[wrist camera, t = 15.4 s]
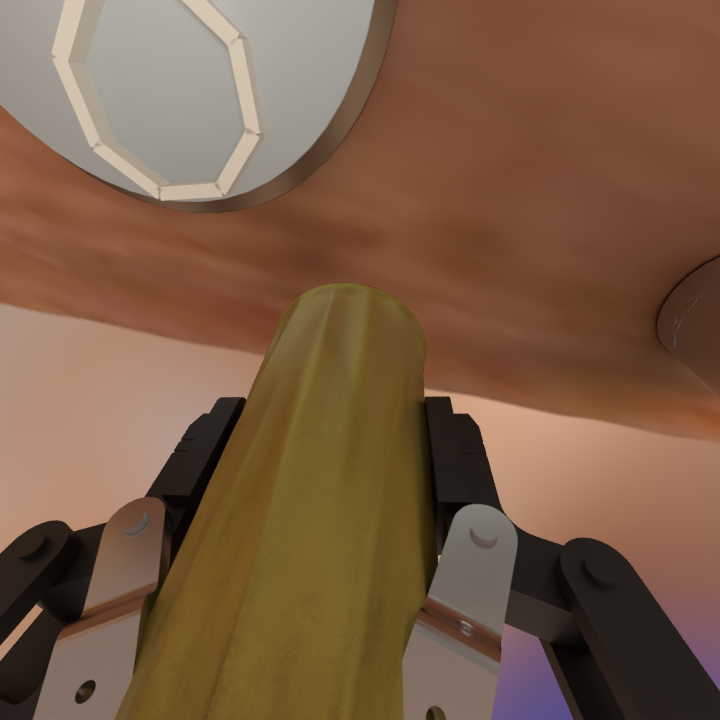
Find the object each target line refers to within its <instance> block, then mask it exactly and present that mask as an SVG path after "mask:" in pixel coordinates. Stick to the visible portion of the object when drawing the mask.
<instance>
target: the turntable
mask: <svg viewBox="0 0 720 720" xmlns="http://www.w3.org/2000/svg"><path fill="white" fill-rule="evenodd" d="M375 2H376V0H0V105H1V106H2V107H3V108H4V109H6V110H7V111H8V112H9V113H10V114H11V115H12V116H13V117H14V118H15V119H16V120H17V121H18V122H19V123H20V124H22V125H23V126H24V127H25V128H26V129H27V130H29V131H30V132H31V133H32V134H34V135H35V136H36V137H37V138H39V139H40V140H41V141H42V142H44V143H45V144H46V145H47V146H49V147H50V148H51V149H53V150H54V151H56V152H57V153H59V154H60V155H62V156H63V157H65V158H66V159H68V160H69V161H71V162H72V163H74V164H75V165H77V166H78V167H80V168H82V169H84V170H86V171H88V172H89V173H91V174H93V175H95V176H97V177H99V178H101V179H103V180H104V181H107V182H109V183H112V184H114V185H117V186H119V187H122V188H124V189H126V190H129V191H132V192H136V193H139V194H143V195H146V196H150V197H153V198H156V199H161V201H165V200H172V201H179V202H205V201H212V200H219V199H226V198H229V197H233V196H236V195H239V194H242V193H246V192H249V191H251V190H253V189H255V188H257V187H259V186H261V185H263V184H265V183H267V182H269V181H271V180H272V179H274V178H275V177H277V176H278V175H280V174H281V173H282V172H284V171H285V170H287V169H288V168H290V167H291V166H292V165H294V164H295V163H296V162H297V161H298V160H299V159H300V158H301V157H302V156H303V155H304V154H306V153H307V152H308V151H309V150H310V149H311V148H312V147H313V146H314V144H315V143H316V142H317V141H318V139H319V138H320V137H321V135H322V134H323V133H324V132H325V130H326V129H327V128H328V127H329V125H330V124H331V122H332V120H333V119H334V117H335V115H336V113H337V112H338V110H339V108H340V107H341V105H342V103H343V102H344V100H345V98H346V95H347V93H348V91H349V89H350V86H351V84H352V82H353V80H354V77H355V75H356V73H357V71H358V67H359V64H360V61H361V58H362V55H363V52H364V48H365V45H366V42H367V39H368V36H369V31H370V26H371V21H372V16H373V12H374V7H375Z"/></svg>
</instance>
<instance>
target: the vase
mask: <svg viewBox="0 0 720 720" xmlns="http://www.w3.org/2000/svg"><path fill="white" fill-rule="evenodd" d="M425 354H426V342H425V337H424V334H423V331H422V328H421V326H420V324H419V322H418V320H417V319H416V317H415V316H414V314H413V313H412V312H411V311H410V310H409V309H408V308H407V307H406V306H405V305H404V304H403V303H402V302H400V301H399V300H398V299H397V298H395V297H394V296H392V295H390V294H389V293H387V292H385V291H383V290H380V289H378V288H375V287H371V286H368V285H363V284H357V283H347V282H338V283H330V284H326V285H322V286H319V287H316V288H313V289H311V290H309V291H307V292H305V293H303V294H302V295H300V296H299V297H297V298H296V299H295V300H294V301H293V302H292V303H291V304H290V305H289V306H288V307H287V308H286V309H285V310H284V312H283V313H282V314H281V316H280V318H279V319H278V321H277V324H276V328H275V334H274V337H273V339H272V341H271V343H270V346H269V348H268V351H267V353H266V355H265V358H264V360H263V363H262V365H261V367H260V369H259V371H258V374H257V376H256V378H255V380H254V383H253V385H252V388H251V391H250V393H249V395H248V398H247V400H246V403H245V406H244V408H243V411H242V414H241V416H240V418H239V420H238V422H237V424H236V426H235V428H234V430H233V432H232V434H231V436H230V438H229V441H228V443H227V445H226V447H225V449H224V451H223V454H222V456H221V458H220V460H219V462H218V465H217V467H216V469H215V471H214V473H213V475H212V477H211V479H210V481H209V484H208V486H207V488H206V491H205V493H204V495H203V498H202V500H201V502H200V505H199V507H198V510H197V512H196V514H195V517H194V519H193V521H192V523H191V525H190V527H189V530H188V532H187V534H186V536H185V538H184V540H183V542H182V545H181V547H180V549H179V551H178V553H177V555H176V558H175V560H174V562H173V564H172V566H171V569H170V571H169V573H168V575H167V578H166V580H165V582H164V584H163V587H162V589H161V591H160V593H159V596H158V598H157V600H156V602H155V604H154V607H153V609H152V611H151V613H150V615H149V617H148V621H147V625H146V629H145V632H144V636H143V639H142V643H141V647H140V651H139V654H138V658H137V662H136V666H135V670H134V674H133V678H132V680H131V682H130V685H129V687H128V689H127V691H126V694H125V696H124V698H123V701H122V703H121V705H120V707H119V710H118V712H117V714H116V716H115V719H114V720H404V715H403V673H402V659H403V656H404V653H405V650H406V647H407V644H408V641H409V638H410V635H411V633H412V630H413V627H414V624H415V621H416V619H417V616H418V614H419V611H420V609H421V607H422V606H423V607H426V599H427V596H428V593H429V590H430V587H431V584H432V581H433V578H434V575H435V572H436V569H437V566H438V553H437V537H436V523H435V508H434V495H433V482H432V471H431V460H430V450H429V440H428V431H427V422H426V413H425V403H424V402H425V398H424V379H423V371H424V363H425ZM426 720H439V719H438V718H437V717H435V715H434V713H433V712H429V713H428V714H427V715H426Z"/></svg>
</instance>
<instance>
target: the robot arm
mask: <svg viewBox="0 0 720 720" xmlns="http://www.w3.org/2000/svg"><path fill="white" fill-rule="evenodd" d="M657 333H658V337H659V340H660V342H661V343H662V344H663V346H664V347H665V348H666V349H667V350H668V351H670V352H671V353H672V354H673V355H674V356H675V357H677V358H678V359H679V360H680V361H681V362H682V363H683V364H685V365H686V366H687V367H688V368H689V369H690V370H692V371H693V372H694V373H695V374H696V375H697V376H698V377H699V378H700V379H701V380H703V381H704V382H705V383H706V384H707V385H708V386H710V387H711V388H712V389H713V390H714V391H715V392H717V393H718V394H719V395H720V257H718V258H716V259H714V260H712V261H710V262H709V263H707V264H705V265H703V266H702V267H700V268H699V269H698V270H696V271H695V272H693V273H692V274H690V275H689V276H688V277H687V278H686V279H685V280H684V281H683V282H681V283H680V284H679V285H678V286H677V287H676V289H675V290H674V291H673V292H672V293H671V295H670V296H669V297H668V299H667V300H666V302H665V304H664V305H663V307H662V309H661V311H660V314H659V317H658V321H657ZM245 403H246V399H245V398H244V397H221V398H219V399H218V400H217V402H216V403H215V405H214V407H213V408H212V410H211V412H210V413H209V414H203V415H201V416H200V417H199V418H198V419H197V420H196V421H194V422H193V423H192V424H191V425H190V426H189V427H188V429H187V431H186V433H185V434H184V435H183V437H182V439H181V442H179V443H178V445H177V446H176V448H175V450H174V453H172V454H171V456H170V458H169V459H168V461H167V462H166V464H165V466H164V467H163V469H162V470H161V472H160V473H159V475H158V477H157V478H156V480H155V481H154V483H153V484H152V486H151V488H150V489H149V491H148V492H147V494H146V495H145V497H144V498H140V499H136V500H134V501H132V502H130V503H128V504H126V505H125V506H123V507H122V508H120V509H119V510H118V511H117V512H116V513H115V514H114V515H113V516H112V517H111V518H110V520H109V521H108V522H107V523H103V524H99V525H96V526H92V527H89V528H85V529H81V530H77V531H73V530H72V529H71V528H70V527H69V526H68V525H67V524H66V523H64V522H62V521H57V520H56V521H48V522H45V523H41V524H39V525H37V526H34V527H33V528H31V529H29V530H27V531H26V532H25V533H23V534H22V535H20V536H19V537H18V538H16V539H15V540H14V541H13V542H12V543H11V544H10V545H9V546H8V547H7V548H6V549H5V550H4V551H3V552H2V553H1V554H0V645H1V644H2V643H3V642H4V641H5V640H6V638H7V637H8V636H9V635H10V634H11V633H12V631H13V630H14V629H15V628H16V627H17V626H18V624H19V623H20V622H21V621H22V620H23V619H24V617H25V616H26V615H27V614H28V613H29V612H30V611H31V609H32V608H33V607H34V606H35V605H36V604H37V605H38V606H39V607H41V608H42V609H43V611H42V612H41V613H40V614H39V616H38V617H37V618H36V619H35V620H34V622H33V623H32V624H31V625H30V626H29V627H28V629H27V630H26V631H25V632H24V633H23V635H22V636H21V637H20V638H19V639H18V641H17V642H16V643H15V644H14V645H13V647H12V648H11V649H10V650H9V651H8V653H7V654H6V655H5V656H4V657H3V658H2V660H1V661H0V720H114V719H115V716H116V714H117V712H118V710H119V707H120V705H121V703H122V701H123V698H124V696H125V694H126V691H127V689H128V687H129V685H130V682H131V680H132V678H133V674H134V670H135V666H136V662H137V658H138V654H139V651H140V647H141V643H142V639H143V636H144V632H145V629H146V625H147V621H148V617H149V615H150V613H151V611H152V609H153V607H154V604H155V602H156V600H157V598H158V596H159V593H160V591H161V589H162V587H163V584H164V582H165V580H166V578H167V575H168V573H169V571H170V569H171V566H172V564H173V562H174V560H175V558H176V555H177V553H178V551H179V549H180V547H181V545H182V542H183V540H184V538H185V536H186V534H187V532H188V530H189V527H190V525H191V523H192V521H193V519H194V517H195V514H196V512H197V510H198V507H199V505H200V502H201V500H202V498H203V495H204V493H205V491H206V488H207V486H208V484H209V481H210V479H211V477H212V475H213V473H214V471H215V469H216V467H217V465H218V462H219V460H220V458H221V456H222V454H223V451H224V449H225V447H226V445H227V443H228V441H229V438H230V436H231V434H232V432H233V430H234V428H235V426H236V424H237V422H238V420H239V418H240V416H241V414H242V411H243V408H244V406H245ZM424 403H425V413H426V422H427V431H428V440H429V450H430V460H431V471H432V482H433V495H434V508H435V523H436V537H437V553H438V555H441V557H440V561H439V563H438V566H437V569H436V572H435V575H434V578H433V581H432V584H431V587H430V590H429V593H428V596H427V599H426V607H423V606H422V607H421V609H420V611H419V614H418V616H417V619H416V621H415V624H414V627H413V630H412V633H411V635H410V638H409V641H408V644H407V647H406V650H405V653H404V656H403V659H402V673H403V715H404V720H426V715H427V714H428V713H429V712H433V713H434V715H435V717H437V718H438V719H439V720H491V715H492V709H493V704H494V697H495V692H496V686H497V680H498V673H499V667H500V660H501V639H502V632H503V626H504V623H506V624H508V625H511V626H513V627H515V628H518V629H520V630H522V631H525V632H527V633H529V634H532V635H534V636H537V637H539V640H540V642H541V644H542V647H543V649H544V651H545V654H546V656H547V658H548V661H549V663H550V665H551V668H552V670H553V672H554V675H555V677H556V679H557V682H558V684H559V687H560V689H561V691H562V694H563V696H564V698H565V701H566V703H567V705H568V707H569V710H570V712H571V715H572V717H573V719H574V720H720V691H719V690H718V688H717V687H716V685H715V684H714V682H713V681H712V680H711V678H710V677H709V676H708V674H707V672H706V671H705V670H704V668H703V667H702V665H701V664H700V662H699V661H698V659H697V658H696V657H695V655H694V654H693V653H692V651H691V649H690V648H689V647H688V645H687V644H686V642H685V641H684V640H683V638H682V637H681V635H680V634H679V633H678V631H677V630H676V628H675V627H674V625H673V624H672V622H671V621H670V620H669V618H668V617H667V615H666V614H665V613H664V611H663V610H662V608H661V607H660V605H659V604H658V602H657V601H656V600H655V598H654V597H653V595H652V594H651V593H650V591H649V590H648V588H647V587H646V585H645V584H644V583H643V581H642V580H641V578H640V577H639V575H638V574H637V573H636V571H635V570H634V568H633V567H632V566H631V564H630V563H629V562H628V561H627V560H626V559H625V558H624V557H623V556H622V555H621V554H620V553H619V552H618V551H616V550H615V549H613V548H612V547H611V546H609V545H607V544H605V543H603V542H601V541H598V540H595V539H591V538H576V539H573V540H570V541H568V542H567V543H566V544H565V545H564V546H563V545H560V544H557V543H554V542H551V541H548V540H545V539H542V538H539V537H536V536H534V535H531V534H529V533H527V532H525V531H523V530H522V529H520V528H519V527H517V526H516V525H515V524H514V523H513V522H512V521H511V520H510V519H509V518H508V517H507V516H506V514H505V513H504V511H503V509H502V507H501V504H500V501H499V498H498V494H497V490H496V487H495V483H494V480H493V476H492V472H491V469H490V465H489V461H488V458H487V456H486V450H485V447H484V444H483V440H482V436H481V432H480V429H479V426H478V425H477V424H476V423H475V421H474V420H473V419H472V418H471V416H470V415H469V414H453V409H452V404H451V400H450V397H425V402H424Z"/></svg>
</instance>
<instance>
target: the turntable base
mask: <svg viewBox="0 0 720 720" xmlns="http://www.w3.org/2000/svg"><path fill="white" fill-rule="evenodd" d="M397 1H398V0H376V2H375V7H374V12H373V16H372V21H371V26H370V31H369V36H368V39H367V42H366V45H365V48H364V52H363V55H362V58H361V61H360V64H359V67H358V71H357V73H356V75H355V77H354V80H353V82H352V84H351V86H350V89H349V91H348V93H347V95H346V98H345V100H344V102H343V103H342V105H341V107H340V108H339V110H338V112H337V113H336V115H335V117H334V119H333V120H332V122H331V124H330V125H329V127H328V128H327V129H326V130H325V132H324V133H323V134H322V135H321V137H320V138H319V139H318V141H317V142H316V143H315V144H314V146H313V147H312V148H311V149H310V150H309V151H308V152H307V153H306V154H304V155H303V156H302V157H301V158H300V159H299V160H298V161H297V162H296V163H295V164H294V165H292V166H291V167H290V168H288V169H287V170H285V171H284V172H282V173H281V174H280V175H278V176H277V177H275V178H274V179H272V180H271V181H269V182H267V183H265V184H263V185H261V186H259V187H257V188H255V189H253V190H251V191H249V192H246V193H242V194H239V195H236V196H233V197H229V198H226V199H219V200H212V201H205V202H179V201H172V200H165V201H161V199H156V198H153V197H150V196H146V195H143V194H139V193H136V192H132V191H129V190H126V189H124V188H122V187H119V186H117V185H114V184H112V183H109V182H107V181H104V180H103V179H101V178H99V177H97V176H95V175H93V174H91V173H89V172H88V171H86V170H84V169H82V168H80V167H78V166H77V165H75V164H74V163H72V162H71V161H69V160H68V159H66V158H65V157H63V156H62V155H61V156H62V157H63V158H65V159H66V160H67V161H69V162H70V163H72V164H73V165H75V166H76V167H78V168H79V169H81V170H82V171H84V172H85V173H87V174H88V175H90V176H91V177H93V178H95V179H97V180H98V181H100V182H102V183H104V184H106V185H108V186H110V187H111V188H113V189H115V190H117V191H119V192H121V193H124V194H126V195H129V196H131V197H134V198H136V199H138V200H141V201H143V202H146V203H150V204H153V205H157V206H161V207H164V208H168V209H173V210H179V211H186V212H193V213H221V212H229V211H236V210H242V209H246V208H249V207H252V206H256V205H259V204H263V203H265V202H267V201H269V200H271V199H274V198H276V197H278V196H280V195H282V194H284V193H286V192H287V191H289V190H290V189H292V188H293V187H295V186H296V185H298V184H299V183H301V182H302V181H304V180H305V179H306V178H307V177H309V176H310V175H311V174H312V173H313V172H314V171H315V170H316V169H317V168H318V167H319V166H321V165H322V164H323V163H324V162H325V161H326V160H327V159H328V158H329V157H330V156H331V155H332V154H333V152H334V151H335V150H336V149H337V148H338V146H339V145H340V144H341V143H342V142H343V140H344V139H345V138H346V137H347V135H348V133H349V132H350V130H351V129H352V127H353V125H354V124H355V122H356V121H357V119H358V118H359V116H360V114H361V113H362V111H363V109H364V107H365V104H366V102H367V100H368V98H369V96H370V94H371V92H372V90H373V88H374V86H375V83H376V80H377V78H378V75H379V72H380V69H381V66H382V63H383V60H384V57H385V55H386V52H387V48H388V44H389V40H390V35H391V31H392V27H393V23H394V18H395V14H396V8H397ZM58 154H59V153H58Z"/></svg>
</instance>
